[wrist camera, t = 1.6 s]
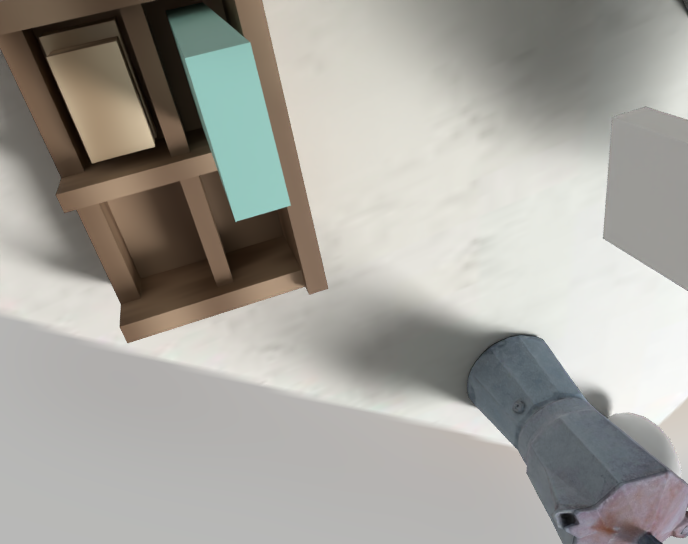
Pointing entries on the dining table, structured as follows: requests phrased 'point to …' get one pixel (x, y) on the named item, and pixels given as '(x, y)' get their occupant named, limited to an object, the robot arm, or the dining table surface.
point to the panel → (230, 109)
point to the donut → (649, 438)
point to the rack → (167, 172)
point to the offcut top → (102, 98)
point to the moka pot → (576, 451)
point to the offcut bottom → (90, 34)
